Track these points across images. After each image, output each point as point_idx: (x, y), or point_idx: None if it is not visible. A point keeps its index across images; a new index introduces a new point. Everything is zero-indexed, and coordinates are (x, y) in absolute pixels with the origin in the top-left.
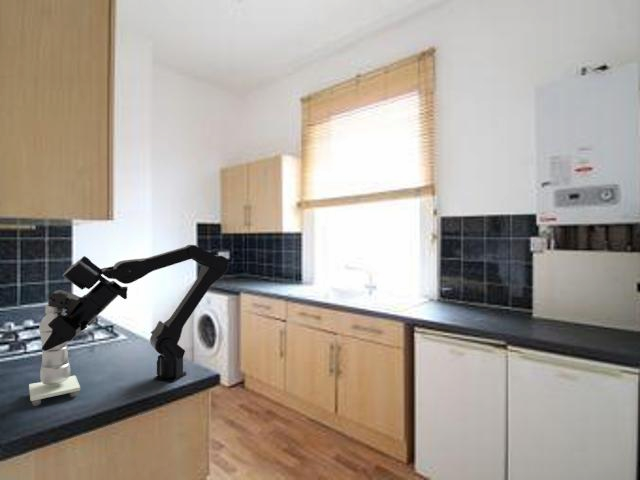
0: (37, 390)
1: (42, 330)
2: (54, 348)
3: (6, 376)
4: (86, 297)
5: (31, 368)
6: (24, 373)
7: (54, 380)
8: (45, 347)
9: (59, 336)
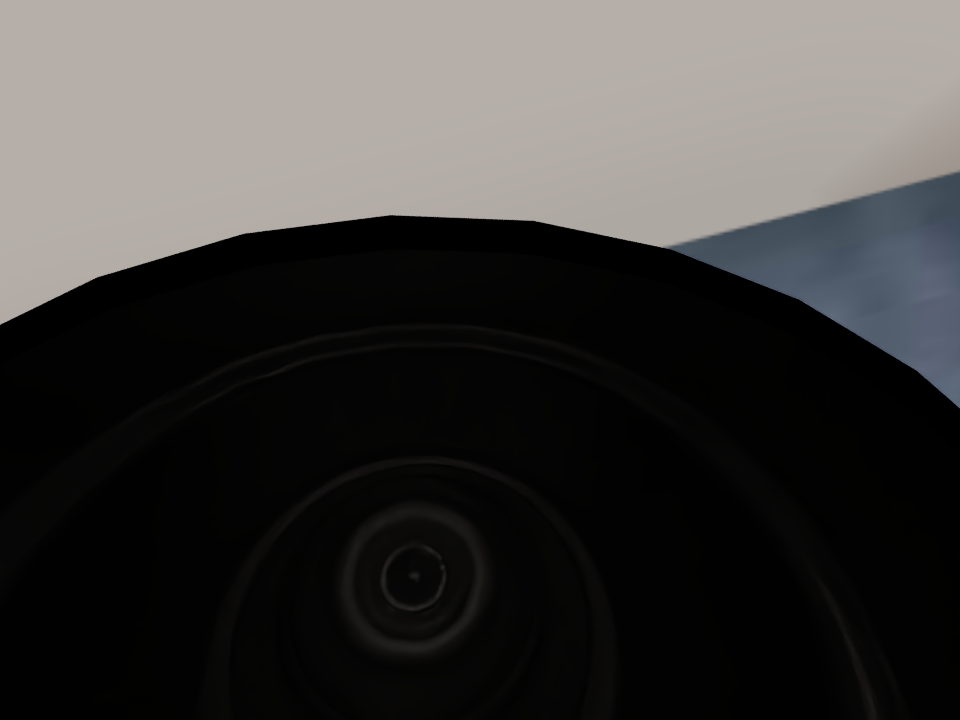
0: None
1: (3, 469)
2: (218, 692)
3: (797, 216)
4: None
5: (906, 300)
6: (831, 286)
7: (299, 604)
8: None
9: None
